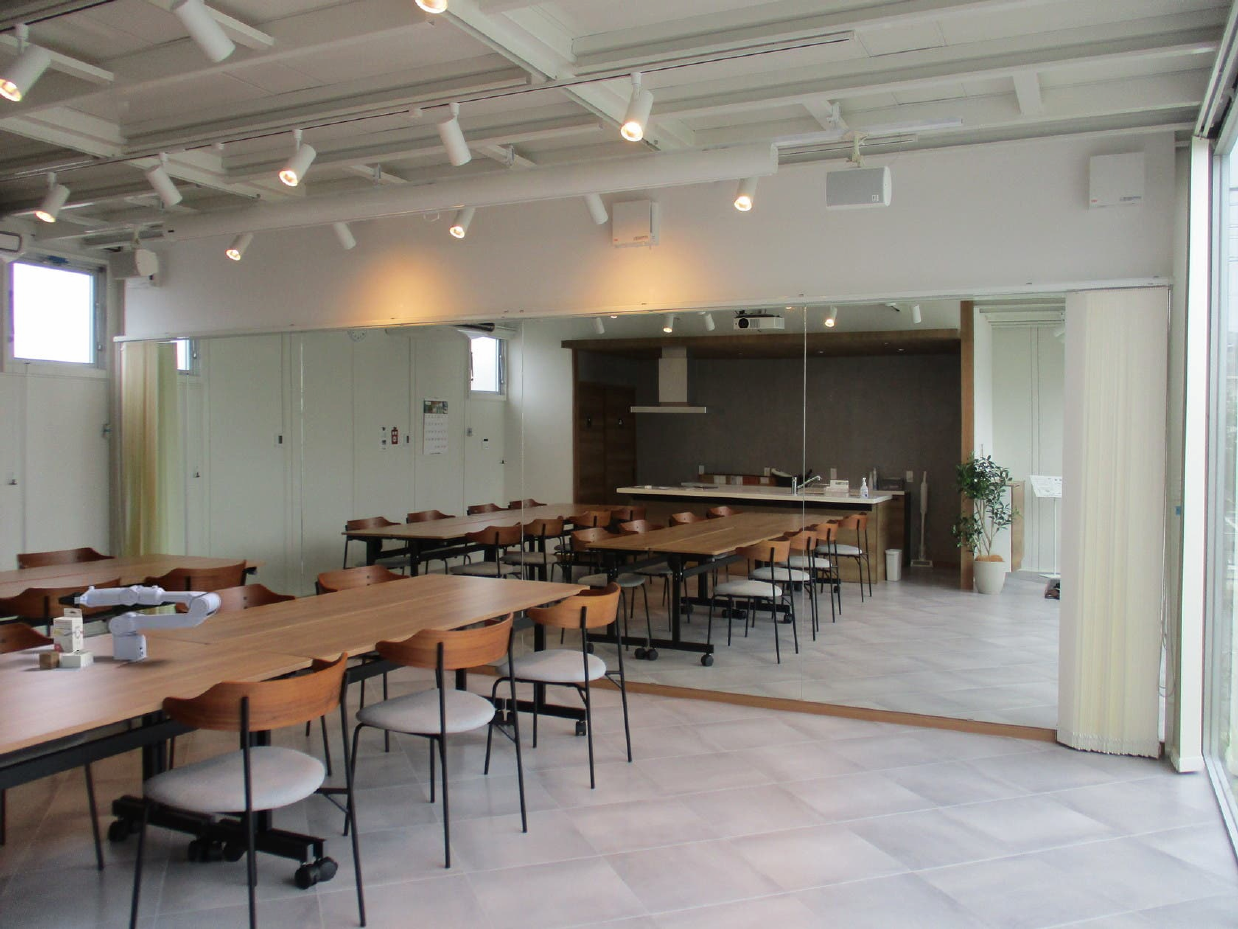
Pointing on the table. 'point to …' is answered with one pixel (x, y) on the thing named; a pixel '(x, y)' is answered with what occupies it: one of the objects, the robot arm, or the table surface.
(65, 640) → the ink cartridge box
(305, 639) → the table surface
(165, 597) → the robot arm
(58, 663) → the walnut block
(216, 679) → the table surface
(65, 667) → the blueprint board
